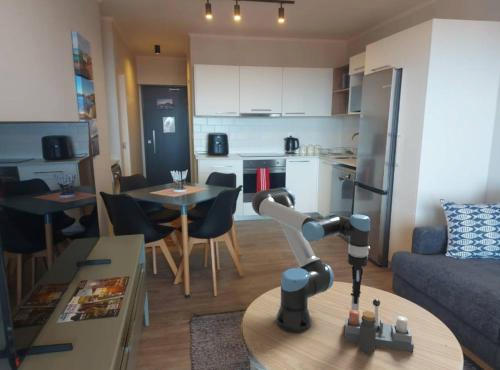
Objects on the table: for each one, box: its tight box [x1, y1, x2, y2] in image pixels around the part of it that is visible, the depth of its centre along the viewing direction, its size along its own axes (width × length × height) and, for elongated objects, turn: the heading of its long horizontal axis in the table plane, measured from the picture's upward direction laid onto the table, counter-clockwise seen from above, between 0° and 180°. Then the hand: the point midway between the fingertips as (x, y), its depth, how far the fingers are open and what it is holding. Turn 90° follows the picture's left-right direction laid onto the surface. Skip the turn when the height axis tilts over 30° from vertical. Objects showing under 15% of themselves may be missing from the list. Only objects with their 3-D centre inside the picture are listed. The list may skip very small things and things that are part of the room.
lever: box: [372, 298, 381, 330], centre depth 138 cm, size 3×3×12 cm
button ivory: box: [395, 315, 409, 334], centre depth 131 cm, size 4×4×5 cm
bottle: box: [358, 310, 376, 355], centre depth 128 cm, size 6×6×15 cm
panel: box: [344, 317, 415, 352], centre depth 136 cm, size 25×12×7 cm, turn 75°
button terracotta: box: [348, 309, 361, 326], centre depth 136 cm, size 4×4×5 cm
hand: (354, 309), depth 135 cm, fingers closed
